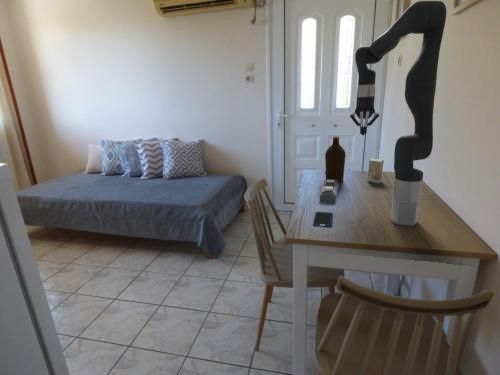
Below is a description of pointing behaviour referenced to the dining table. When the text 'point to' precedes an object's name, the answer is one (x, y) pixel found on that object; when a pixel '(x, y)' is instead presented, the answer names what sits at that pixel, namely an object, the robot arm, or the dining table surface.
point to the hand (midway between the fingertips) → (363, 134)
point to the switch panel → (329, 192)
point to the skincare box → (375, 170)
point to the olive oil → (335, 161)
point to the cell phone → (323, 219)
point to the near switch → (328, 188)
